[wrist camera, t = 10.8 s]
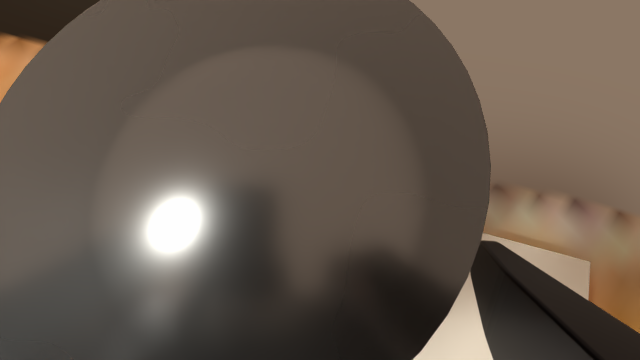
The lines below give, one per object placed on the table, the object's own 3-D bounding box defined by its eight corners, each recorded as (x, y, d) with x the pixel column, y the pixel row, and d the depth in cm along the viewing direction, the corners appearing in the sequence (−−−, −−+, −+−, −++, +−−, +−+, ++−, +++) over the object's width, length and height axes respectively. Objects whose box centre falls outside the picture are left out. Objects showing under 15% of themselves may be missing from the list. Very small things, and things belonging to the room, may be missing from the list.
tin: (400, 281, 15) (628, 233, 3) (297, 344, 14) (13, 627, 2) (340, 184, 17) (316, -104, 5) (246, 238, 16) (-65, 74, 4)
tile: (575, 263, 16) (590, 261, 15) (554, 577, 12) (572, 601, 11) (205, 162, 19) (198, 156, 18) (108, 386, 16) (92, 393, 15)
